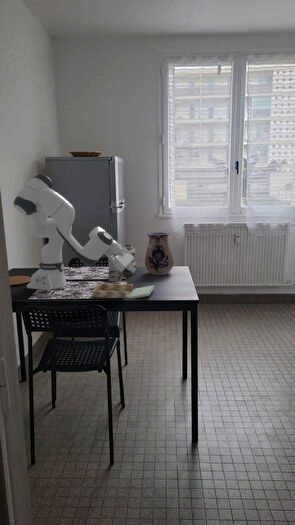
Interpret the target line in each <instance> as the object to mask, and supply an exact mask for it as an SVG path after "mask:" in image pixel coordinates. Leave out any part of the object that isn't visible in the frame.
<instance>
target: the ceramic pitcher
mask: <svg viewBox="0 0 295 525" xmlns="http://www.w3.org/2000/svg"><path fill="white" fill-rule="evenodd" d="M169 235H170V234H169V233H166V232H162V231H160V232H151V233H148V234H147V236H148V238H149V240H148V245H147V250H146V252H145V258H144V265H145V267H146V268H145V269H146V270H147V272H149V273H150V274H152V275H154V276H164V275H167V274H169V273H170V272H171V270H172V269H173V266H174V256H173V254H172V250H171V246H170V245H169V241H168V238H169Z"/></svg>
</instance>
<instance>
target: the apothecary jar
mask: <svg viewBox="0 0 295 525" xmlns="http://www.w3.org/2000/svg"><path fill="white" fill-rule="evenodd" d="M122 245H124V246H125V247H126V248H125V249H127V250H128V251H129V252H130V253H131V254H132V255H133V257H134V258H135V254H136V253H137V251H136V249H135V248H134V245H133V244H130V243H125V244H122ZM131 263H132V264H133V266H134V267H135V268H136V267H137V262H136V261H135V259H134V260H133V261H132V262H131ZM135 274H136V271H135V272H134V273H132V272H131V271H130V270H128V269H127V268H125V269H124V270H123V276H133V275H135Z"/></svg>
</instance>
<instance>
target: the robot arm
mask: <svg viewBox="0 0 295 525" xmlns="http://www.w3.org/2000/svg"><path fill="white" fill-rule="evenodd" d="M54 187H55V186H54V182H53V181H52V179H51V178H50V177H49V176H47V175H46V174H44V173H38V174H35V176H33V178H32V179H31V180H30V181H29V182H27V183H26V185H24V187H23V188H21V189H20V190H19V191H18V193H17V196H16V197H15V198H14V200H13V206H14V208H15V209H16V210H17V212H19V213H20V214H22V215H24V216H27V217H28V218H29V221H28V222H27V225H26V226H27V227H26V228H27V232H28V234H29V235H30V236H32V237H35V238H48V243H46V244H45V245H43V246H42V248H41V259H42V261H41V262H40V263H39V264H38V267H39V269H38V270H37V271H35V272H34V273H33V274H32V275H31V278H30V282H29V283H28V284H27V285H26V288H27V289H32V290H33V289H34V290H41V291H51V290H56V289H61V288H64V287H66V286H67V285H68V283H67V280H66V277H65V272H64V269H65V268H64V267H65V265H64V260H63V244H64V242H65V243H66V244H67V245H68V246H69V247H70V249H71V250H72V251H73V253H74V254H75V255H76V256H77V257H78V259H79V260H80V262H81V263H82V264H83V265H85V266H87V267H89V266H95V265H96V264H97V263H98V262H99V261H100V259H101V257H103V255H105V256H106V257H107V258H109V259H110V260H111V261H112V263H113V264H114V265H115V267H116V268H117V269H118V270H119V271H121V272H122V271H123V270H124V269H125V268H127V269H128V270H130V271H131V272H132V273H134V272H135V273H136V270H137V268H136V267H134V266H133V264H132V263H131V262H132V261H133V260H135V256H134V257H133V255H132V254H131V253H130V252H129V251H128V250H127V249H125V248H126V247H125V246H124V245H123V244H120V243H119V242H118V241H116V240H114V238H113V236H112V235H111V234H110V233H109V232H107V231H106V230H105V229H104V228H102V227H101V226H95V227H94V228H92V229H91V230H90V231H89V233H88V237H89V240H88V242H87V243H86V244H85V245H83V246H82V245H81V244H80V242H79V241H78V240H77V239H76V238H75V237H74V236H73V234H72V229H73V228H72V225H73V223H74V221H75V218H76V210H75V207H74V205H72V203H71V202H70V201H68V200H67V199H66V198H65V197H64V196H63V195H61V194H60V193H59V192H57V191H55V190H54Z"/></svg>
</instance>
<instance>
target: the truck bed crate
mask: <svg viewBox="0 0 295 525" xmlns="http://www.w3.org/2000/svg"><path fill="white" fill-rule="evenodd" d="M133 290H134V284H130V283H128V284H127V283H105V282H103V283H102V282H100V284H98V285H97V286H96V287H94V289H92V290H91V293H92V294H91V295H92V297H93V298H111V299H112V298H113V299H114V298H115V299H128V298H127V297H128V296H129V295H130V294H131V293H132V291H133Z"/></svg>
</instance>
